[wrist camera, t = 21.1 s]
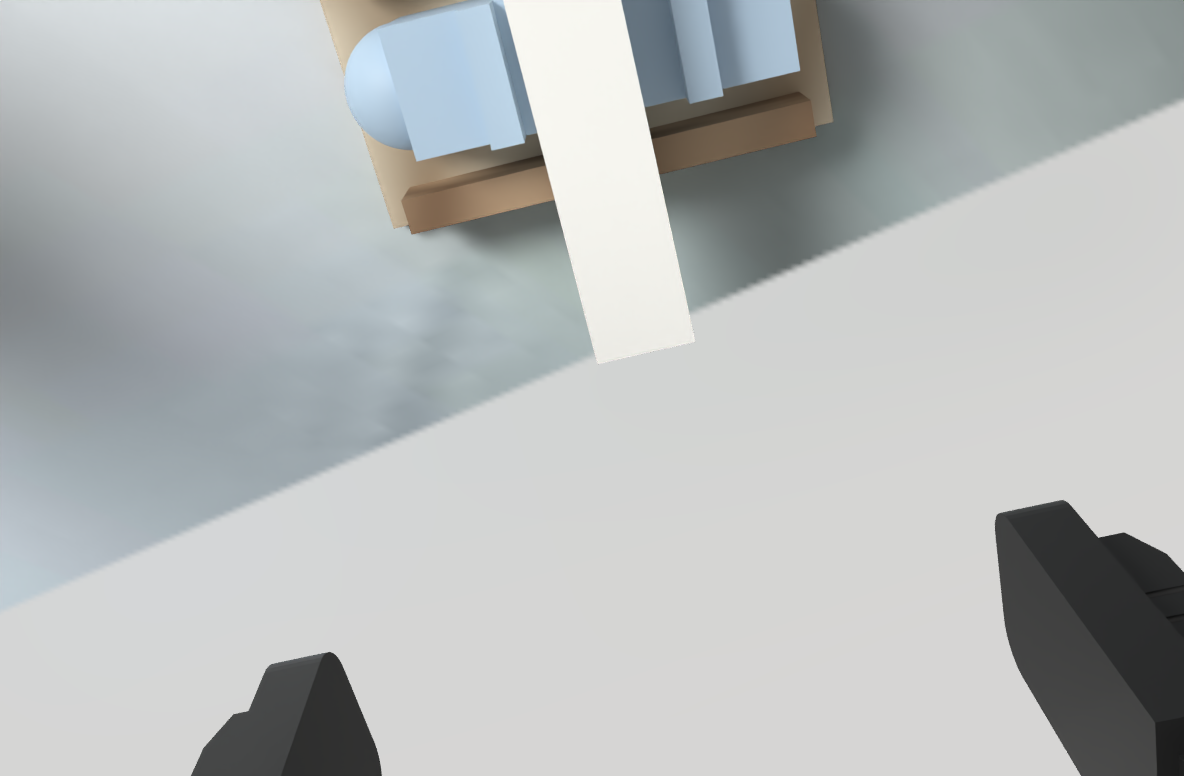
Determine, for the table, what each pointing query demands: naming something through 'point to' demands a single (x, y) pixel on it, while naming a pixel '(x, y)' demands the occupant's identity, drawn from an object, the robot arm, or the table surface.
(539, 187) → the jig
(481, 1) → the light blue stepped block
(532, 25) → the white rectangular bar
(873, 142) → the table surface
